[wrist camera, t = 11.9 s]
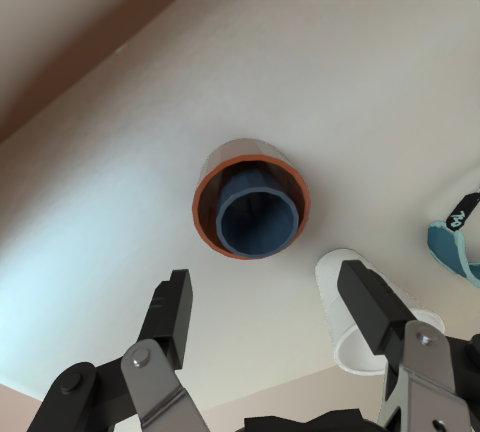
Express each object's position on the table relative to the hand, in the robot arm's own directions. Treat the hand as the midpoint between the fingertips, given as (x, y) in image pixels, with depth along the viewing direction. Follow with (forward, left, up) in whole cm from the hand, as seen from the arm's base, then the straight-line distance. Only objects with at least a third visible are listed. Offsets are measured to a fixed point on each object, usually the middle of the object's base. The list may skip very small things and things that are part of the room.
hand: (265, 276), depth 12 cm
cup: (+12, +12, -14) cm, 22 cm away
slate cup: (0, 0, -13) cm, 13 cm away
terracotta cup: (0, 0, -14) cm, 14 cm away
